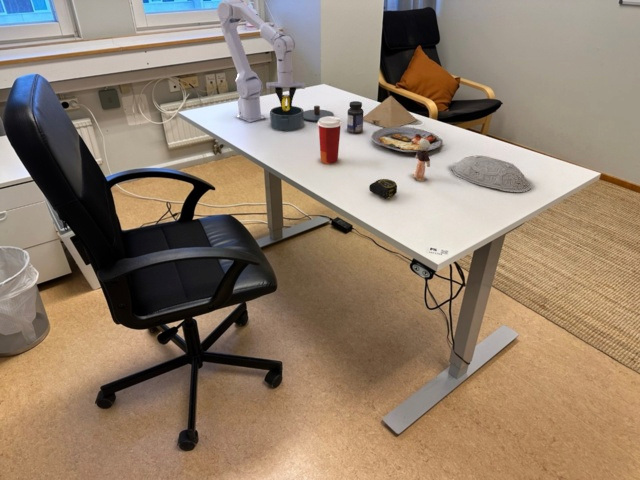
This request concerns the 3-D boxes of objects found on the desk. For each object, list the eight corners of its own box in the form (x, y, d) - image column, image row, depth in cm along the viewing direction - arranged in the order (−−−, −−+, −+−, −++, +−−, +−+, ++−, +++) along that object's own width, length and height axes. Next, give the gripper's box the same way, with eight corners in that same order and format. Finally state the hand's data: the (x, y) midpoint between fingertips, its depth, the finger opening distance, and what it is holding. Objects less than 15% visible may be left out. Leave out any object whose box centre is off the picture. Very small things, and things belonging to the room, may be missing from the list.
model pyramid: (359, 119, 185) (360, 95, 179) (386, 111, 194) (388, 87, 189) (390, 130, 174) (392, 104, 169) (417, 120, 184) (420, 95, 179)
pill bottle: (362, 129, 175) (364, 100, 169) (362, 134, 170) (364, 105, 164) (347, 128, 176) (348, 100, 170) (346, 133, 171) (347, 105, 165)
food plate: (453, 144, 162) (454, 134, 160) (418, 163, 148) (419, 153, 146) (396, 128, 176) (397, 119, 174) (359, 144, 162) (359, 134, 160)
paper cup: (343, 157, 151) (344, 117, 144) (336, 166, 145) (337, 124, 138) (321, 155, 153) (321, 114, 146) (314, 163, 147) (313, 121, 140)
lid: (298, 122, 182) (298, 111, 180) (301, 111, 194) (301, 101, 192) (333, 122, 182) (333, 111, 179) (333, 112, 194) (334, 101, 191)
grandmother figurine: (406, 175, 140) (411, 136, 133) (416, 172, 141) (421, 134, 134) (422, 184, 134) (428, 144, 127) (432, 182, 136) (438, 142, 129)
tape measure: (367, 193, 129) (368, 181, 127) (385, 187, 132) (386, 176, 130) (383, 202, 125) (384, 190, 123) (401, 196, 128) (402, 184, 126)
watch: (287, 113, 173) (286, 97, 170) (280, 112, 174) (279, 97, 170) (292, 108, 178) (292, 93, 174) (286, 108, 178) (285, 93, 175)
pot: (267, 133, 171) (266, 117, 168) (274, 118, 187) (273, 103, 184) (301, 133, 171) (301, 118, 168) (305, 118, 186) (304, 104, 183)
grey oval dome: (517, 196, 126) (523, 173, 123) (440, 174, 142) (444, 153, 139) (539, 185, 136) (545, 163, 133) (465, 165, 152) (469, 145, 149)
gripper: (304, 68, 171) (305, 104, 178) (267, 68, 171) (269, 104, 178) (303, 72, 165) (304, 109, 172) (264, 72, 165) (267, 109, 172)
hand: (286, 107), depth 175 cm, fingers closed on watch, 2 cm apart
